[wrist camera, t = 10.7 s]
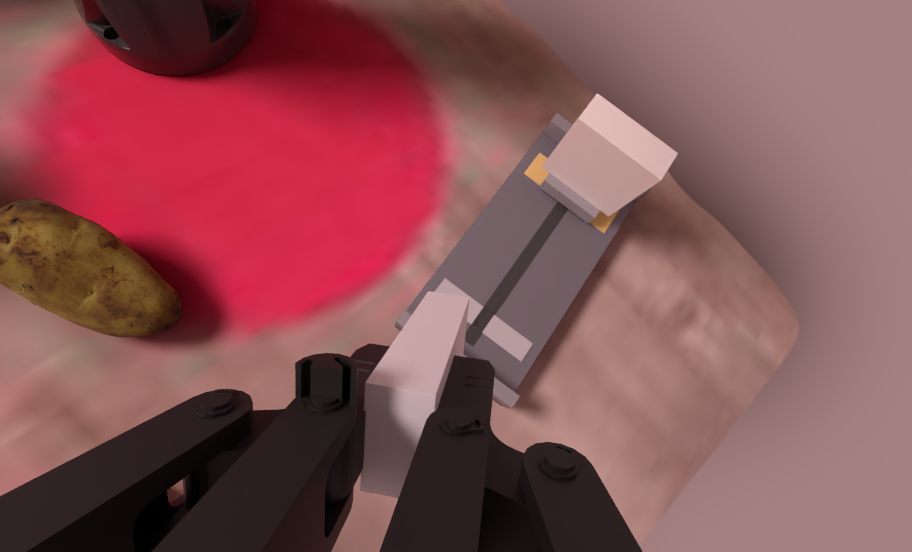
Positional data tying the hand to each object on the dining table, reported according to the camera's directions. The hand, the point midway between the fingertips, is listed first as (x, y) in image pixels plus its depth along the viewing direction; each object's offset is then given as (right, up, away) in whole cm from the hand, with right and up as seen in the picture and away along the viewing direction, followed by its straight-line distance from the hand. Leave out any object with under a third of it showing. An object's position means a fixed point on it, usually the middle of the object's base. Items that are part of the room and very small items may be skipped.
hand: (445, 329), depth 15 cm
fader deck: (+7, +4, +27) cm, 28 cm away
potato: (-29, +1, +21) cm, 35 cm away
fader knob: (+12, +11, +27) cm, 32 cm away
